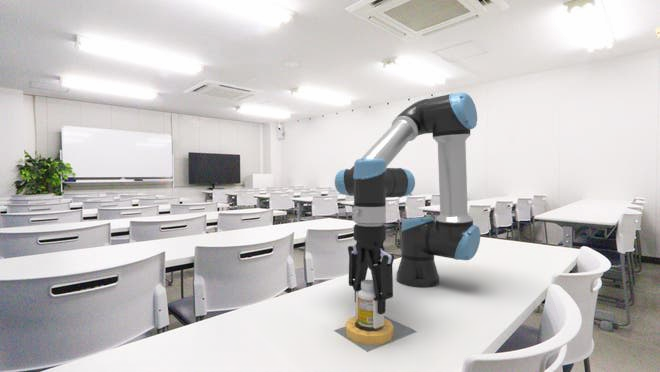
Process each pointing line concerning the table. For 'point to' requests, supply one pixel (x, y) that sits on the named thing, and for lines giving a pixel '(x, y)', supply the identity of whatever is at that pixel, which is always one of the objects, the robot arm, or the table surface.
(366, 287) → the supplement bottle
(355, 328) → the golden tan faceted ring
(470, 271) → the table surface
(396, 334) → the slate mat
